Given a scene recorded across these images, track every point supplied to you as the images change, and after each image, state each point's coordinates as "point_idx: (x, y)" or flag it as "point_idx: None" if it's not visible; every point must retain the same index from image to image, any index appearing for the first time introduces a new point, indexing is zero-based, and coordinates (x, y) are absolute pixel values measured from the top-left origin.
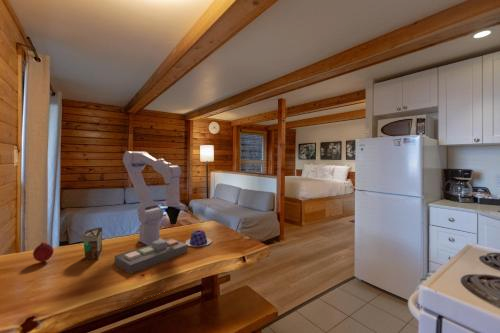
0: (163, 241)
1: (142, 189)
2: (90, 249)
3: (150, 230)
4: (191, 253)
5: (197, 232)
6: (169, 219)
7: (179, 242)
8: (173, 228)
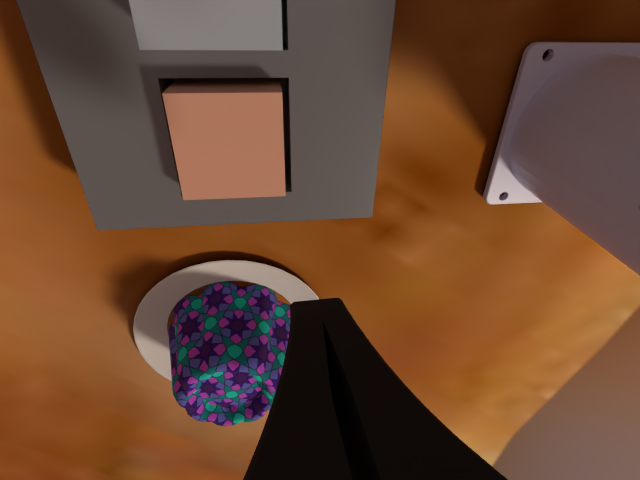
0: (171, 16)
1: None
2: None
3: (637, 124)
4: (59, 197)
5: (256, 392)
6: (364, 350)
7: (207, 212)
8: (585, 349)
